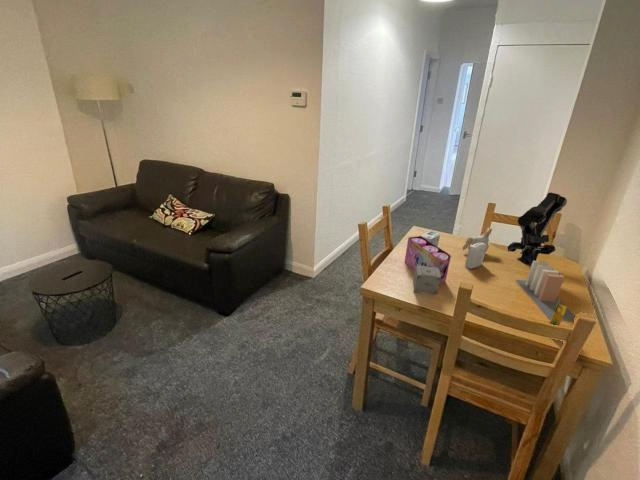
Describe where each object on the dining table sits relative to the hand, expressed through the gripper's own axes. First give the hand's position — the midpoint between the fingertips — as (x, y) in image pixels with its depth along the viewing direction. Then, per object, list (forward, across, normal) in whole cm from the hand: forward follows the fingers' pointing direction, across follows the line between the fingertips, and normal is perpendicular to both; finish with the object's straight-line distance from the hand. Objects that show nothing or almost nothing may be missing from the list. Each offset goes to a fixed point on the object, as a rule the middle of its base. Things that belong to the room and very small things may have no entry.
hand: (533, 265), depth 154 cm
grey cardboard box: (+17, -50, -5) cm, 53 cm away
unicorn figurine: (-16, -15, +28) cm, 35 cm away
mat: (+16, 0, -5) cm, 17 cm away
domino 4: (+17, 0, -6) cm, 18 cm away
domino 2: (+11, 0, 0) cm, 11 cm away
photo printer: (-2, -21, +14) cm, 26 cm away
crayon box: (+32, -8, -20) cm, 38 cm away
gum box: (+5, -48, +7) cm, 48 cm away
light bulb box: (-10, -42, +22) cm, 49 cm away
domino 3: (+14, 0, -3) cm, 14 cm away
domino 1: (+8, 0, +3) cm, 9 cm away
